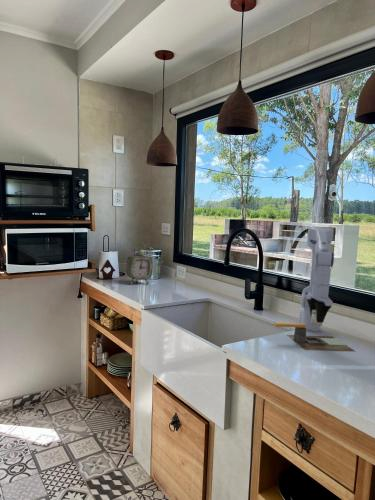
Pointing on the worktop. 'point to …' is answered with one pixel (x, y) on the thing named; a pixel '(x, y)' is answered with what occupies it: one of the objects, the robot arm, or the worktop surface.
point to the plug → (315, 318)
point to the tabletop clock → (139, 266)
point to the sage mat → (333, 341)
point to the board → (315, 342)
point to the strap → (290, 324)
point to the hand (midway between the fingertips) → (316, 320)
